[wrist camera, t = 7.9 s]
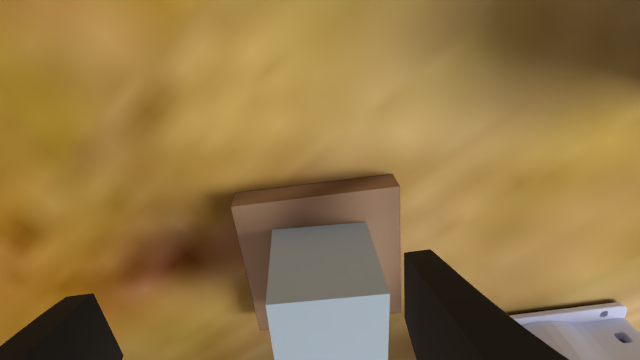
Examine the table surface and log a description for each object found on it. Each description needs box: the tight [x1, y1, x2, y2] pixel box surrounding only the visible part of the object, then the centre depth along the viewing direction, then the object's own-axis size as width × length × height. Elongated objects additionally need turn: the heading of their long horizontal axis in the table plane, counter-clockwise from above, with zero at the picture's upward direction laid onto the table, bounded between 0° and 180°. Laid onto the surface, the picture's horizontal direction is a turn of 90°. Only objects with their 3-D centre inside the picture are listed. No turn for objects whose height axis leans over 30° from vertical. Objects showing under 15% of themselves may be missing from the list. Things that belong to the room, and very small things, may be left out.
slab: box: [231, 174, 401, 330], centre depth 20 cm, size 8×8×2 cm
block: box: [266, 222, 390, 360], centre depth 17 cm, size 5×5×5 cm
